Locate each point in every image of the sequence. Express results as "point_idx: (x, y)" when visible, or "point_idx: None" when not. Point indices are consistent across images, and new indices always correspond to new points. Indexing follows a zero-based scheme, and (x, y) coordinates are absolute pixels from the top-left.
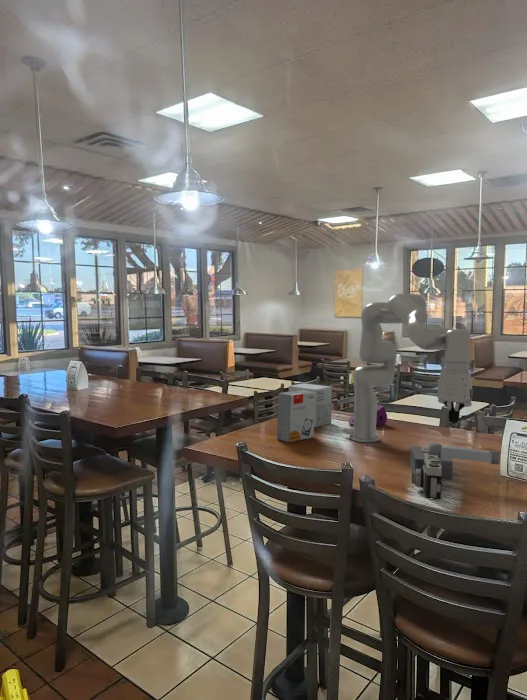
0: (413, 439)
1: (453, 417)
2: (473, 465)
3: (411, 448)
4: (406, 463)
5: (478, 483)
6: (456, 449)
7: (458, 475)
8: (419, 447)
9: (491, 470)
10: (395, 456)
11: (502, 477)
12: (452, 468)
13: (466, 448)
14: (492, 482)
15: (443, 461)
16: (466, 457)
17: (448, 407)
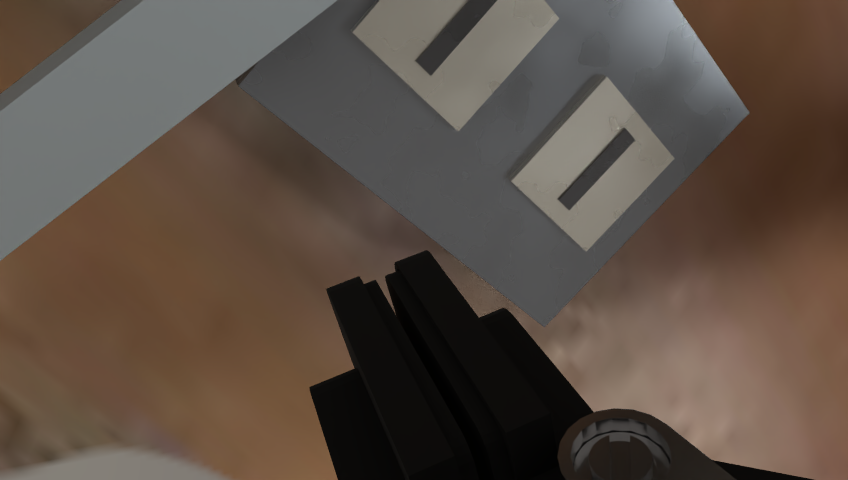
0: (836, 419)
1: (379, 346)
2: None
3: (711, 61)
4: None
5: None
6: (103, 31)
7: (268, 173)
8: (680, 151)
9: (238, 456)
10: (780, 83)
11: (87, 427)
12: None
13: (79, 196)
14: (18, 288)
15: None
16: (6, 94)
17: (667, 475)
